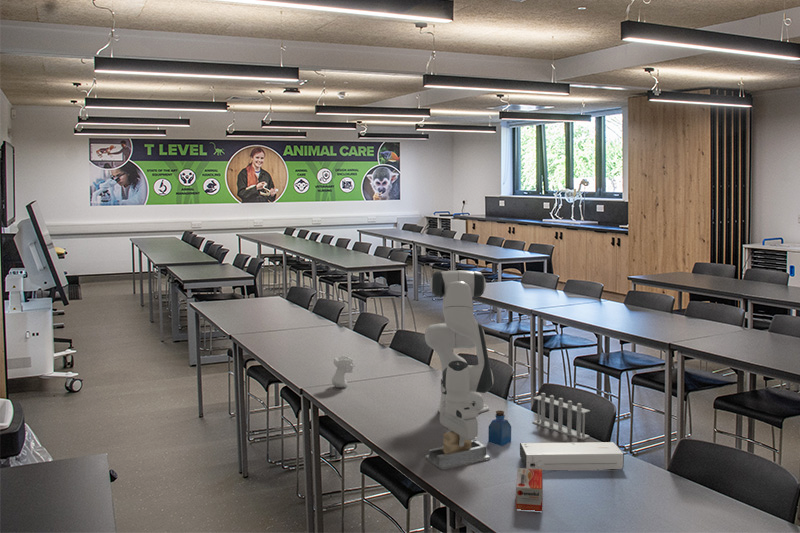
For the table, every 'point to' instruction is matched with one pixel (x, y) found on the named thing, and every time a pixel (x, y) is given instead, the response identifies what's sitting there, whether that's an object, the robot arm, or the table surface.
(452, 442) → the tan wooden block
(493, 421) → the perfume bottle
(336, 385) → the white lumpy upright piece
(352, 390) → the table surface
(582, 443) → the laminator
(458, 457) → the floor track
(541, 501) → the medicine box
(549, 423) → the test tube rack
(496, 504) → the table surface
